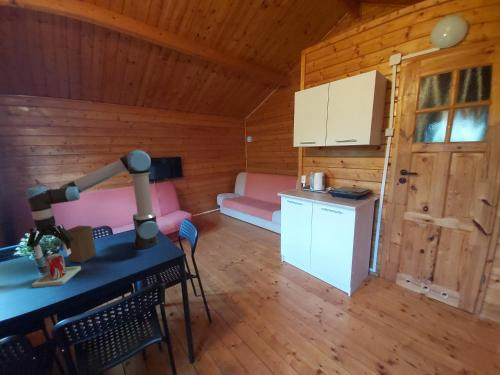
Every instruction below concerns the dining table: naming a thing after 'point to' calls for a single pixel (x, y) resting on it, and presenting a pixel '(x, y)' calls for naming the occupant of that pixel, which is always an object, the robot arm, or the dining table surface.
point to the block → (82, 244)
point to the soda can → (55, 266)
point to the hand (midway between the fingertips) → (54, 256)
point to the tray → (46, 281)
